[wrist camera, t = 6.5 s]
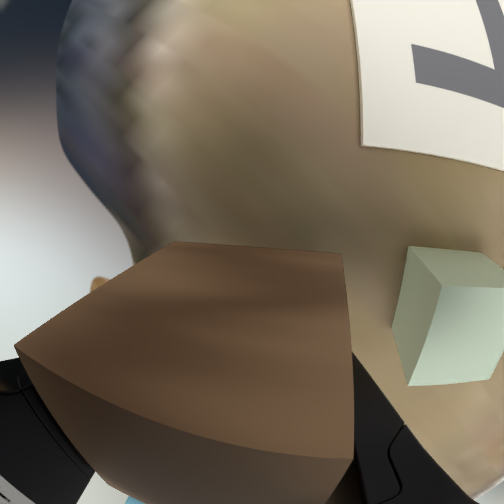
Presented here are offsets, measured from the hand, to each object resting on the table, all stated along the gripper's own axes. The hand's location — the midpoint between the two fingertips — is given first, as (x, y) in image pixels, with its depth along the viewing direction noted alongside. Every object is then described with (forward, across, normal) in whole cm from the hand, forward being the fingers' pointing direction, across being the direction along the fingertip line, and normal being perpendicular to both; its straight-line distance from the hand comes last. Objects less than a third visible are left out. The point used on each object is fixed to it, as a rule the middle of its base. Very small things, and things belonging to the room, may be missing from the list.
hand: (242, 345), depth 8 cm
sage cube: (+9, -10, +2) cm, 14 cm away
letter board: (+9, -14, -16) cm, 23 cm away
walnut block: (+1, 0, 0) cm, 1 cm away
